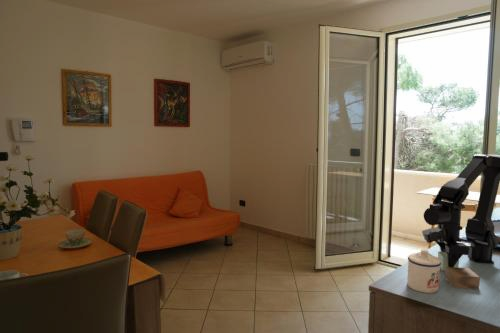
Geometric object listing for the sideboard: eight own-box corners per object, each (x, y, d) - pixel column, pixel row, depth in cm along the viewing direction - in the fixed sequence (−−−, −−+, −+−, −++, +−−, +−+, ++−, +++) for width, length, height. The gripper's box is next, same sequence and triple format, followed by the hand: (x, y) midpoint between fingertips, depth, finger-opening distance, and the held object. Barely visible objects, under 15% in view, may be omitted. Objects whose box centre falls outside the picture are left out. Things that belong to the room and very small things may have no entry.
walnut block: (467, 279, 114) (468, 268, 114) (478, 289, 107) (479, 277, 107) (444, 278, 115) (445, 266, 115) (454, 288, 108) (455, 275, 108)
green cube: (452, 266, 125) (453, 252, 124) (458, 271, 120) (459, 257, 119) (437, 265, 126) (438, 251, 125) (442, 270, 121) (443, 256, 120)
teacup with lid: (432, 296, 102) (435, 258, 101) (401, 286, 109) (403, 250, 107) (446, 284, 110) (449, 248, 109) (416, 275, 117) (418, 241, 116)
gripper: (417, 214, 132) (415, 254, 133) (434, 228, 113) (431, 274, 115) (450, 215, 130) (447, 256, 131) (472, 229, 111) (468, 277, 113)
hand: (447, 265), depth 123 cm, fingers closed on green cube, 5 cm apart
